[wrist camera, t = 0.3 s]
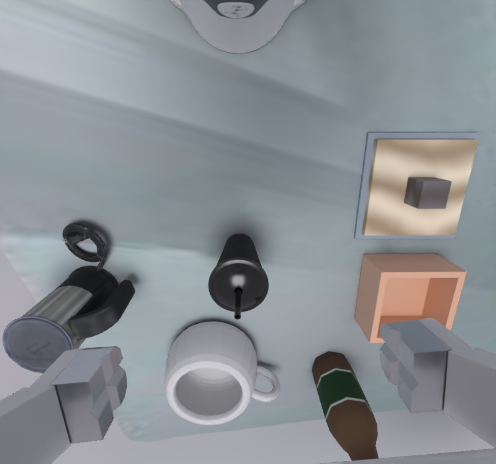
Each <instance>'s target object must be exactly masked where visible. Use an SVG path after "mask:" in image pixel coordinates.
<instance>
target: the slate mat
mask: <svg viewBox="0 0 496 464" xmlns="http://www.w3.org/2000/svg"><path fill="white" fill-rule="evenodd" d="M479 137H480V133H367V139H366V147H365V155H364V163H363V171H362V179H361V186H360V194H359V202H358V210H357V218H356V226H355V234H354V238H355V239H443V238H455V235H404V236H364V235H363V234H362V227H363V220H364V212H365V205H366V198H367V190H368V183H369V176H370V168H371V161H372V153H373V146H374V140H478V141H479ZM477 145H478V144H477ZM476 150H477V148H476ZM475 154H476V152H475ZM474 158H475V156H474ZM473 162H474V160H473ZM472 166H473V164H472ZM471 170H472V168H471ZM470 174H471V172H470ZM469 178H470V176H469ZM468 182H469V181H468ZM467 186H468V185H467ZM466 190H467V189H466ZM465 194H466V193H465ZM464 198H465V197H464ZM463 202H464V201H463ZM462 206H463V205H462ZM461 210H462V209H461ZM460 214H461V213H460ZM459 218H460V217H459ZM458 222H459V221H458ZM457 226H458V225H457ZM456 230H457V229H456ZM455 234H456V233H455Z"/></svg>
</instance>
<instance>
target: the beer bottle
mask: <svg viewBox="0 0 496 464" xmlns="http://www.w3.org/2000/svg"><path fill="white" fill-rule="evenodd" d="M312 373H313V377H314V381H315V384H316V388H317V391H318V395H319V398H320V402H321V405H322V409H323V412H324V416H325V419H326V422H327V424H328V427H329V430H330V432H331V433H332V435H333V436H334V438H335V439H336V440H337V442H338V443H339V444H340V446H341V447H342V448H343V450H345V451H346V452H347V453H348V454H349V456H350V458H351V460H352V461H356V460H367V459H379V458H378V454H377V450H376V446H375V445H376V440H377V435H378V432H377V423H376V420H375V418H374V415H373V413H372V410H371V408H370V406H369V404H368V402H367V400H366V397H365V395H364V393H363V391H362V389H361V387H360V385H359V382H358V380H357V378H356V376H355V374H354V372H353V370H352V368H351V366H350V364H349V363H348V361H347V360H346V358H345V357H344V355H343V354H339V353H333V352H327V353H325V354H323V355H321V356H319V357H317V358H316V361H315V363H314V366H313V369H312Z"/></svg>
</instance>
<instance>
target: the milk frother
mask: <svg viewBox="0 0 496 464" xmlns="http://www.w3.org/2000/svg"><path fill="white" fill-rule="evenodd" d="M63 238H64V240H63V242H64V243H65V244H66V246H67V247H68V249H69V250H70V251H71V252H72V253H73V254H74V255H75V256H77V257H79V258H81V259H83V260H85V261H88V262H99V261H100V263H99V265H98V266H97V267H93V266H87V267H81V268H79V269H77V270H75V271H74V272H72V273H71V275H70V276H69V278H68V279H67V280H66V281H64V282H63V283H62V284H61V285H60V286H59V287H58V288H56V289H55V290H54V291H53V292H51V293H50V294H49V295H48V296H46V297H45V298H44V299H43V300H41V301H40V302H39V303H38V304H37V305H35V306H34V307H33V308H32V309H30V310H29V311H28V312H27V313H26V314H24V315H23V316H22V317H20V318H18V319H15V320H13V321H12V322H11V323H9V324H8V325H7V327H6V328H5V330H4V333H3V345H4V348H5V351H6V353H7V354H8V356H9V357H10V358H11V359H12V360H13V361H15V362H16V363H17V364H18V365H20V366H21V367H23V368H25V369H28V370H30V371H33V372H39V373H44V372H45V371H46V370H47V369H48V368H49V367H50V366H51V365H52V364H53V363H54V362H55V361H56V360H57V359H58V358H59V357H60V356H61V355H62V354H63V353H64V352H65V351H67V350H72V349H78V348H79V347H80V345H81V344H82V343H83V342H84V340H85V339H86V338H89V337H92V336H95V335H98V334H100V333H102V332H104V331H106V330H107V329H109V328H110V327H112V326H113V325H114V324H115V323H116V322H117V321H118V320H119V319H120V318H121V316H122V314H123V312H124V311H125V309H126V307H127V306H128V304H129V302H130V300H131V299H132V297H133V295H134V293H135V290H134V287H133V285H132V283H131V281H130V280H124V281H122V282H121V283H120V284H119V285H118V283H117V282H116V280H115V279H114V277H113V276H112V275H111V274H109V273H108V272H106V271H105V270H103V269H102V266H103V264H104V262H105V259H106V255H107V249H106V246H105V243H104V241H103V240H102V238H101V237H100V236H99V235H98V234H97V233H96V232H95V231H93V230H92V229H90V228H88V227H86V226H84V225H82V224H77V223H73V224H69V225H68V226H66V227H65V228H64V230H63ZM88 238H90V239H91V240H92V241H93V242H94V243H95V245H96V246H97V255H89V254H86V253H84V252H82V251H80V250H79V249H78V248H77V247H76V246H75V244H77V243H78V242H80V241H83V240H85V239H88Z"/></svg>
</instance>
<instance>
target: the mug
mask: <svg viewBox="0 0 496 464" xmlns="http://www.w3.org/2000/svg"><path fill="white" fill-rule="evenodd" d="M257 373H258V374H261V375H263V376H265V377H266V378H267V379H269V380H270V381H271V383H272V385H273V390H272V391H271V392H269V393H264V392H261V391H258V390H256V389H254V387H255V382H256V375H257ZM165 392H166V396H167V400H168V402H169V404H170V406H171V407H172V409H173V410H174V411H175V412H176V413H177V414H178V415H179V416H181V417H182V418H184V419H186V420H188V421H190V422H194V423H197V424H203V425H216V424H222V423H225V422H229V421H231V420H232V419H234V418H236V417H238V416H239V415H240V414H241V413H242V412H243V411H244V410H245V408H246V407H247V405H248V404H249V402H250V400H251V398H254V399H256V400H259V401H262V402H269V401H272V400H274V399H275V398H276V397H278V395H279V393H280V383H279V380H278V378H277V377H276V376H275V375H274V374H273V373H272V372H271V371H269V370H268V369H266V368H264V367H262V366H258V365H257V357H256V352H255V349H254V347H253V345H252V342H251V340H250V339H249V338H248V337H247V336H246V334H245V333H244V332H242V331H241V330H239V329H238V328H236V327H235V326H232V325H229V324H226V323H222V322H214V321H212V322H202V323H199V324H196V325H193V326H191V327H189V328H187V329H186V330H184V331H183V332H182V333H181V334H180V335H179V336H178V337H177V339H176V340H175V341H174V343H173V345H172V347H171V349H170V351H169V354H168V358H167V363H166V370H165Z"/></svg>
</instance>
